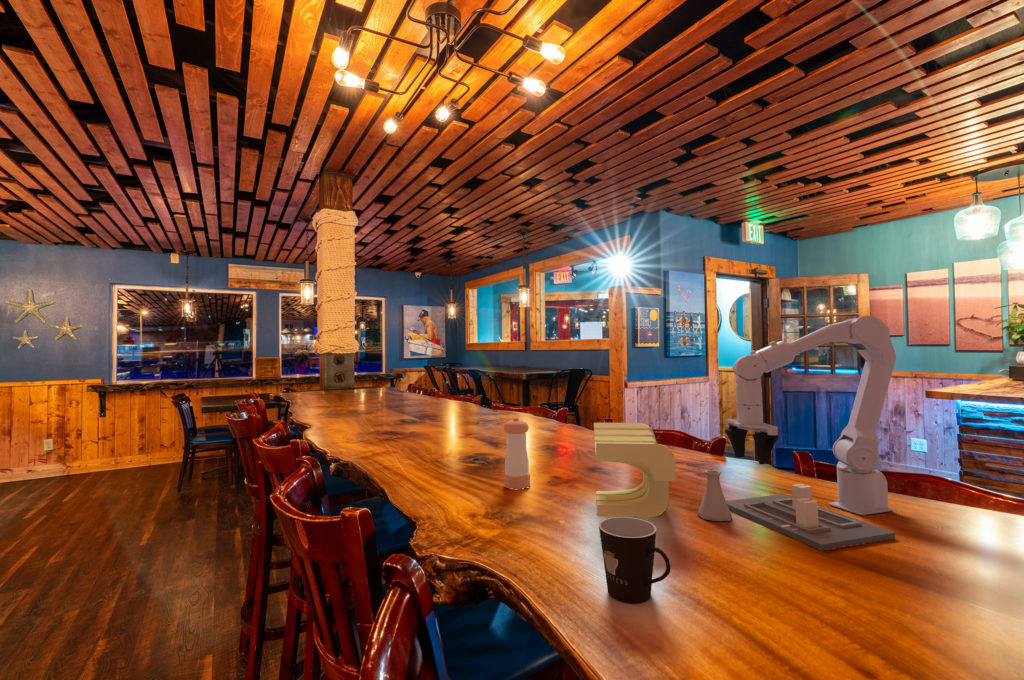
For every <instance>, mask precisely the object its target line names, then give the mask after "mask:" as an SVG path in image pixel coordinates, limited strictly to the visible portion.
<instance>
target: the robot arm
mask: <svg viewBox="0 0 1024 680" xmlns="http://www.w3.org/2000/svg"><path fill="white" fill-rule="evenodd" d="M890 333H891V329H890V327H888V326H887V324H885V323H884V322H883V321H882V320H881V319H880V318H878V317H877V316H873V315H864V316H861V317H855V318H848V319H845V320H843V321H839V322H835V323H832V324H828V325H826V326H822V327H821V328H819V329H817V330H814V331H813V332H810V333H809V334H808V333H807V334H806V335H804V336H801V337H799V338H798V339H795V340H793V341H791V342H786V341H782V340H780V341H776V340H773V341H771V342H769V343H768V345H767V346H765V347H763V348H760V349H759V350H756V351H755V349H754V350H751V351H750V352H749V354H750V355H749V354H748V355H743V356H740V357H738V358H737V359H736V361H735V362H734V363H733V366H732V369H733V372H734V374H735V375H736V376H735V377H736V378H735V384H736V385H735V398H736V401H735V402H736V403H735V404H736V405H735V406H736V418H725V427H728V428H725V429H724V433H725V434H726V436H727V438H728V439H729V442H730V443H731V446H732V449H733V452H734V456H735V458H738V459H739V458H744V457H745V454H746V451H745V450H746V439H747V435H748V431H751V432H754V433H752V438H753V440H754V443H755V447H756V450H757V460H758V461H757V462H758V464H760V465H768V464H769V461H770V456H771V454H772V450H773V448H774V446H775V443H776V442H777V441H778V439H779V433H778V426H776V425H772V424H769V423H765V422H764V413H763V411H764V410H763V409H764V408H763V405H764V404H763V387H762V376H763V374H764V373H765V374H766V373H769V372H772V371H774V370H777V369H780V368H782V367H784V366H786V365H789V364H792V363H793V362H794V360H795V358H796V356H797V355H798V354H801V353H804V352H806V351H808V350H811V349H814V348H817V347H819V346H822V345H825V344H827V343H830V342H833V343H834V342H837V343H838V342H843V343H845V344H846V345H848V346H850V347H851V348H854V349H855V351H857V352H858V353H859V354H860V356H861V357H862V358H863V359H864V361H865V362H864V365H863V368H862V372H861V376H860V379H859V383H858V386H857V391H856V394H855V398H854V402H853V405H852V408H851V412H850V416H849V420H848V423H847V425H846V426H845V427H844V428H843V429H842V431H841V433H840V436H839V437H838V439H837V440H835V442H834V443H833V445H832V453H833V455H834V457H835V459H836V460H838V462H837V464H836V478H837V479H836V480H837V482H836V483H837V485H836V486H837V500H836V501H831V502H828V505H829V506H832V507H833V508H834V507H835V508H838V509H841V510H843V511H847V512H850V513H853V514H856V515H860V516H868V515H874V514H880V513H881V514H882V513H886V512H887V513H888V512H893V508H891V507H889V495H888V494H889V492H888V490H889V489H888V480H887V479H886V476H885V475H884V474H883V473H882V472H881V471H880V470H879V469H877V467H878V466H879V465H880V460H881V459H880V455H879V445H880V441H879V438H878V435H877V429H878V426H879V422H880V419H881V414H882V411H883V407H884V404H885V400H886V398H887V397H886V396H887V393H888V389H889V386H890V382H891V379H892V374H893V371H894V368H895V363H896V361H897V353H896V350H895V348H894V345H893V342H892V339H891V337H890ZM755 432H756V433H755Z"/></svg>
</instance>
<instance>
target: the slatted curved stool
mask: <svg viewBox="0 0 1024 680" xmlns="http://www.w3.org/2000/svg"><path fill="white" fill-rule="evenodd" d="M654 432H655V431H653V429H652V427H650V426H649V425H648V424H646V423H643V422H593V434H594V435H593V438H594V453H595V461H596V462H606V463H607V462H608V463H611V462H612V463H619V464H625V465H630V466H634V467H636V468H638V469H640V470H641V471H642V476H643V477H642V478H643V479H642V482H641V483H640V484H639V485H638V486H636V487H633V488H631V489H623V490H596V491H595V500H596V514H597V516H615V517H643V518H644V517H645V518H646V517H647V518H653V517H654V518H655V517H659V516H660V515H662V514H663V513H664V512H665V511H666V509H667V508H668V505H669V491H670V489H669V487H670V486H669V484H670V482H676V481H677V477H676V476H677V475H676V469H677V467H676V466H677V465H676V458H675V455H674V453H673V452H672V450H671V449H670V448H669V447H668V446H666V445H663V444H659V443H658V442H657V438H656V435H655V433H654Z"/></svg>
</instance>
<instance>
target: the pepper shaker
mask: <svg viewBox="0 0 1024 680" xmlns="http://www.w3.org/2000/svg"><path fill="white" fill-rule="evenodd" d="M529 429H530V427H529V424H528V423H527V422H526V421H524V420H521V419H520V420H519V418H518V417H514V418H512V420H509V421H506V422H505V424H504V426H503V431H504V432H505V433H506V450H505V460H504V469H505V470H504V471H505V473H504V474H503V484H504V485H505V486H506V487H508V488H513V489H522V488H527V487H529V486H530V487H531V473H530V472H529V469H530V468H529V465H530V464H529V463H530V462H529V456H528V451H527V433H528V431H529ZM504 485H503V486H504Z"/></svg>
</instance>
